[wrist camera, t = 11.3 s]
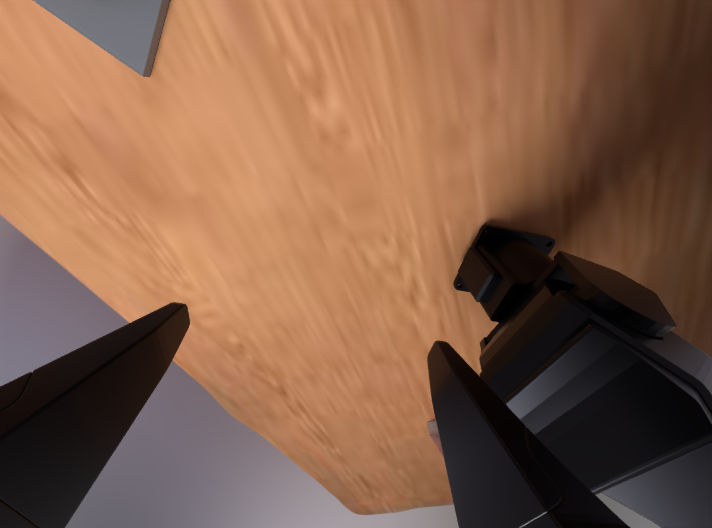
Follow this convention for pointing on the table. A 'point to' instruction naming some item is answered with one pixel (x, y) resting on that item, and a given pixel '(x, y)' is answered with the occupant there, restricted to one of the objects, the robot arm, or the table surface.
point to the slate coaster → (116, 26)
